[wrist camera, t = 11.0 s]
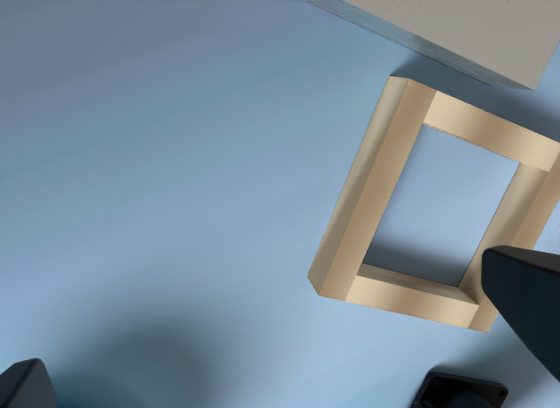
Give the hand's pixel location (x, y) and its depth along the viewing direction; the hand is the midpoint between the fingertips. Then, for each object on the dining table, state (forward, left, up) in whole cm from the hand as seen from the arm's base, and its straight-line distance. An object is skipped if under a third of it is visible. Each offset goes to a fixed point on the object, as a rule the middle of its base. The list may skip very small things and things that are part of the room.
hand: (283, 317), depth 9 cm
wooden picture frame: (-12, -1, -13) cm, 18 cm away
